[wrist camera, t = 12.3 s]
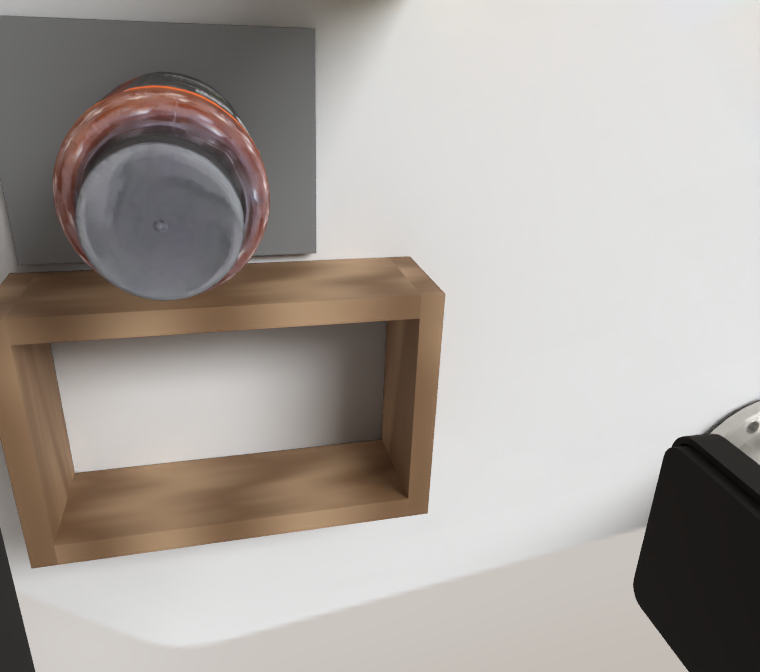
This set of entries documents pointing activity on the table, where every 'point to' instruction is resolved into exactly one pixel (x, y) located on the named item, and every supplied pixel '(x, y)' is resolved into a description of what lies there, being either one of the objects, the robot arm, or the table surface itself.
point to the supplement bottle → (162, 188)
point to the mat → (135, 58)
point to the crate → (223, 474)
